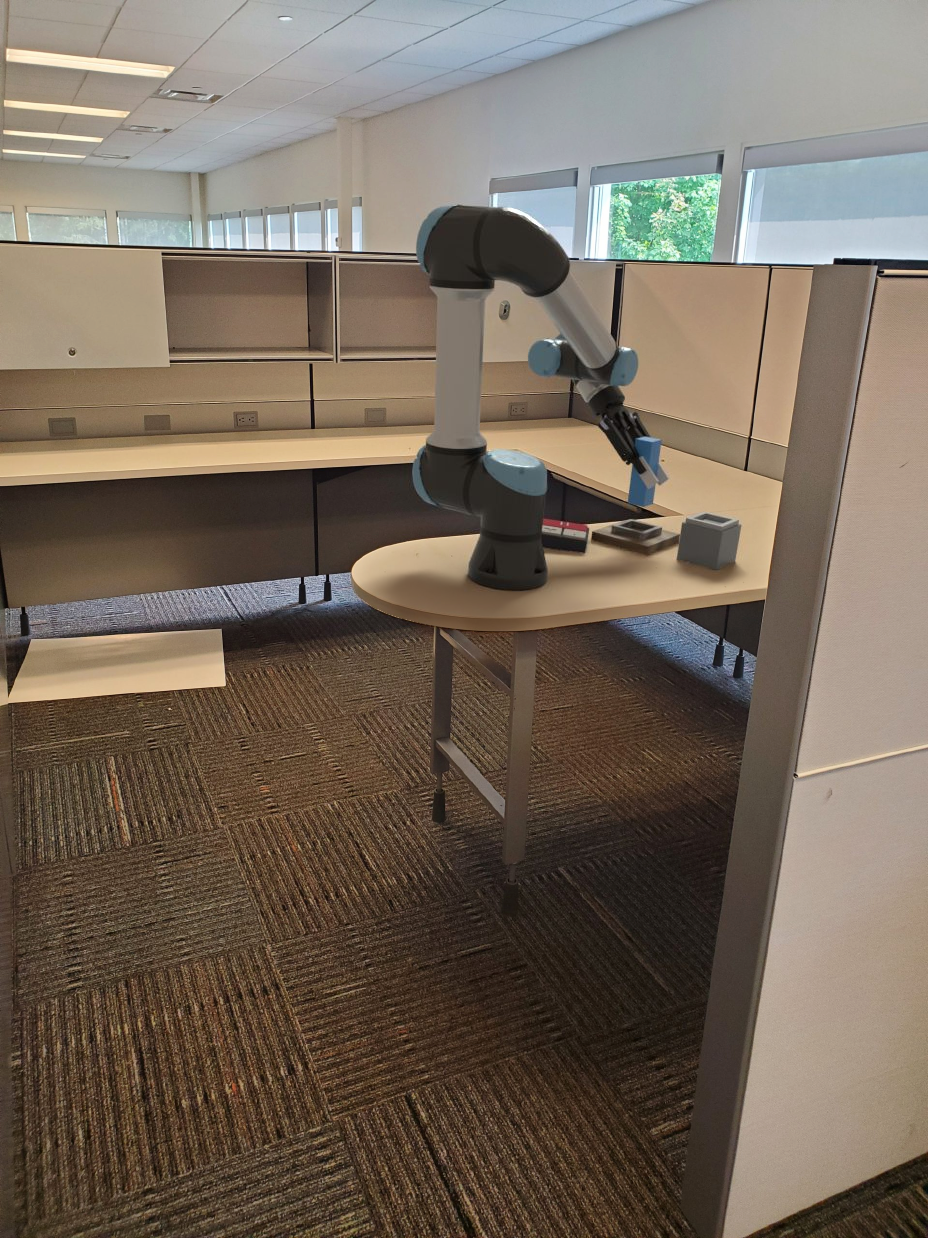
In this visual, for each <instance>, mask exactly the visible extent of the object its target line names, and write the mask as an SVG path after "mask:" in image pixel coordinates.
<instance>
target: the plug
mask: <svg viewBox="0 0 928 1238" xmlns="http://www.w3.org/2000/svg"><path fill="white" fill-rule="evenodd" d="M650 437H651V436H650ZM650 437H641V438H637V439H635V447H636V449H637V451H638V453H639V458H640V457H641V456H643V457H644V459H645V460H646V462H647V463H648V465H649V467H650V468H651V470H652V471H653V473H654V474H655V476H656V477H657V470H658V463H659V462H660V454H661V449H662V447H661V446H662V441H663V440H662V439H661V438H654V437H651V438H650ZM629 480H630V481H629V488H628V498H627V504H630V505H633V506H639V507H641V508H646V507H648V506H651V505H654V499H655V491H656V486H657V484H655V485H654V486H653V487H651V488H650V489H648V488H647V487H646V485H645V483H644V482H643V480H642V479H641V477H640V476H639V474H638V472H637V471H636V469H635V468H634V466H633V465H632V464H631V471H630V479H629Z"/></svg>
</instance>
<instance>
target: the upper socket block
mask: <svg viewBox="0 0 928 1238" xmlns="http://www.w3.org/2000/svg"><path fill="white" fill-rule="evenodd" d="M739 522H740V519H738V518H733V517H729V516H726V515H725V516H724V515H721V514H717V513H713V512H708V511H701V512H699V513H695V514H694V515H691V516H687V517H686V518H685V521H683V522H681V526H680V527H681V528H680V532H679V534H680V538H679V543H678V549H677V553H676V560H678V561H681V562H683V563H684V562H685V563H689V564H691V565H696V566H699V567H703V568H706V569H710V570H714V571H717V570H720V569H722V568H724V567H726V566H727V565H730V564H732V563H734V562H736V559H737V552H738V549H739V548H738V546H739V542H740V541H739V540H740V535H741V531H742V523H739Z"/></svg>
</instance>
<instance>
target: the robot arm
mask: <svg viewBox="0 0 928 1238" xmlns="http://www.w3.org/2000/svg"><path fill="white" fill-rule="evenodd" d="M415 253H416V258H417V259H416V260H417V262H418V263H419V267H420V268H421V270H422V271H423V272H424V273H425V274H427V275H429V280H428V281H429V284H428V285H429V289H430V291H432V292H433V293H434V294H435V296H436V297H437V302H436V303H437V307H436V308H437V309H436V310H437V311H436V342H435V343H436V344H435V347H436V348H435V351H436V352H435V385H434V420H433V421H434V422H433V423H434V427H433V431H432V432H431V433H430V434H429V435H428V436H427V437H426V439H425V445H423V446H422V447H421V448H419V450H418V452H417V453H416V458H415V459H414V460H413V463H412V464H413V465H412V481H413V486H414V488H415V491H416V492H417V494H418V495H419V497H420V498H421V499H422V500H423V501H424V502H426V503H427V504H430V505H433V506H436V507H437V508H440V509H444V510H449V511H454V512H459V513H461V514H466V515H470V516H473V517H478V518H480V528H479V537H478V540H477V542H476V544H475V547H474V549H473V552H472V554H471V557H470V559H469V562H468V566H467V567H468V569H467V572H468V573H467V575H468V578H469V579H470V580H471V581H473V582H475V583H477V584H478V585H482V586H485V587H489V588H493V589H499V590H508V591H510V590H511V591H519V590H520V591H521V590H522V591H523V590H524V591H525V590H530V589H536V588H538V587H542V586H543V585H545V584H546V582H547V579H548V571H549V570H548V564H547V560H546V556H545V551H544V548H543V546H542V542H541V538H542V527H543V519H544V517H545V505H546V497H547V496H546V495H547V490H548V482H547V481H548V470H547V466H545V464H544V462H543V461H542V460H541V459H539V458H538V457H536V456H535V455H532V454H529V453H526V452H522V451H519V450H510V449H507V448H506V449H505V448H504V449H503V448H502V449H501V448H496V449H492V450H488V451H487V449H488V448H487V445H488V441H487V439H486V438H485V437H484V436H483V435H482V434H481V431H480V424H481V406H482V383H483V382H482V381H483V363H484V362H483V357H484V337H485V334H484V333H485V319H486V318H485V315H486V313H485V311H486V300H487V298H488V297H489V295H491V294H492V293H493V292H494V291H495V281H503V282H507V283H510V284H513V285H515V286H518V288H520V290H521V291H522V292H523V294H524V295H526V296H527V297H529V298H532V299H535V300H536V301H537V303H538V304H539V305H540V307H541V308H542V309H543V311H544V312H545V314H546V316H547V317H548V318H549V320H551V323H553V325H554V326H555V327H556V330H558V332H559V334H558V335H557V336H556V337H555V338H549V337H547V338H543V339H538V340H536V341H535V342H534V343H533V344H532V345H531V346H530V348H529V351H528V354H527V364H528V366H529V368H530V371H531V372H532V373H533V374H535V375H537V376H538V377H543V378H552V377H553V378H554V377H556V378H562V379H570V380H571V381H572V383H573V384H574V385H575V388H576V389H577V391H578V392H579V393H580V395H581V397H582V398H583V400H584V403H587V406H588V407H589V409H590V411H591V412H592V414H593V416H594V417H595V418H597V419H600V418H601V421H600V422H599V423H597V427H598V428H599V430H601V432H602V433H604V434H605V436H606V438H607V439H608V441H609V442H610V445H612V447H613V449H614V450H615V452H616V453H617V455H618V457H620V460H622V462H624V463H625V464H626V465H627V466H630V465H631V466H632V465H633V466H634V468H635V469H636V471H637V472H638V474H639V476H640V477H641V479H642V480H643V482H644V483H645V485H646V487H647V488H648V489H650V488H651V487H653V486H654V485H655V484H656V485H658V486H662V485H663V484H664V483H666V482H667V481H668V480H670V479H671V477H670V476H669V475H668V473H667V471H666V470H665V468H664V466H663V465H662V463H661V462H660V461H659V463H658V470H657V477H656V476H655V474H654V473H653V471H652V470H651V468H650V467H649V465H648V463H647V462H646V460H645V459H644V457H643V456H641V457H640V458H639V453H638V451H637V449H636V447H635V439H637V438H641V437H650V438H652V437H651V434H649V432H648V431H647V428H646V427H645V425H644V424H643V422H642V420H641V418H640V415H639V413H638V412H637V411H634V412H632V413H630V411H629V410H628V409H627V408H626V407H625V406H624V402H625V400H626V398H625V395H624V393H623V391H622V390H621V388H620V387H626V386H629V385H631V384H632V383H633V381H634V380H635V378H636V375H637V373H638V370H639V356H638V353H637V352H636V350H635V349H633V348H629V347H626V346H619V345H618V344H617V342H616V341H615V338H614V337H613V336H612V334H611V333H610V331H609V329H608V328H607V326H606V325H605V323H604V322H603V320H602V319H601V317H600V315H599V314H598V313H597V311H596V310H595V308H594V306H593V305H592V303H591V302H590V300H589V299H588V296H587V295H586V293H585V291H583V289H582V287H581V286H580V284H579V283H578V281H577V280H576V279H575V278H576V277H574V275H573V273H572V272H571V259H570V258H569V255H568V254H567V253H566V251H565V249H564V248H563V246H561V244H560V243H559V241H558V240H557V239H556V238H555V237H554V235H553V234H552V233H551V232H549V231H548V229H546V228H545V227H544V226H543V225H542V224H541V223H540V222H539V221H537V219H535V218H533V217H532V216H530V215H528V214H527V213H525V212H524V211H521V210H520V209H517V208H513V207H509V206H481V205H480V206H479V205H463V204H453V205H452V204H451V205H444V206H443V205H441V206H439V207H436V208H435V209H433V210H431V211H430V213H428V215H427V217H426V218H425V219H424V220H423V221H422V223H421V225H420V228H419V230H418V234H417V238H416V243H415ZM656 485H655V486H656Z"/></svg>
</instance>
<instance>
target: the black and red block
mask: <svg viewBox="0 0 928 1238" xmlns="http://www.w3.org/2000/svg"><path fill="white" fill-rule="evenodd" d="M589 534H590V527H588V524H587V525H586V524H583V523H582V524H581V523H574V522H570V521H569V522H568V521H564V520H563V521H562V520H556V519H548V518H543V527H542V538H541V542H542V546H543V549H549V550H555V551H562V550H563V551H564V552H571V551H572V552H574V553H580V552H582V553H583V554H584V553H586V550H587V546H588V545H587V544H588V539H589Z"/></svg>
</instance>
